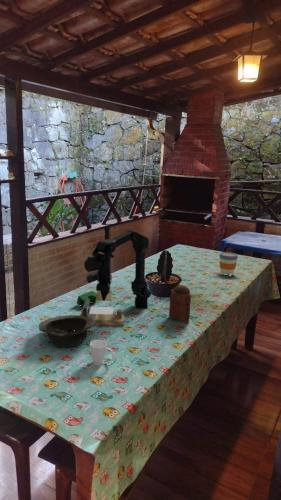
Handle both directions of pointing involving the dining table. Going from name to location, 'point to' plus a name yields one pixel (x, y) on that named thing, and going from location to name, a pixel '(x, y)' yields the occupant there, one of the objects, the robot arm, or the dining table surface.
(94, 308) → the mat
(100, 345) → the cup
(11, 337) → the dining table surface
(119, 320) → the plane body
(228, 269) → the reusable coffee cup
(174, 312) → the wooden figurine
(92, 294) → the green lumpy block
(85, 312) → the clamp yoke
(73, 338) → the stone bowl
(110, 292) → the olive wooden block
